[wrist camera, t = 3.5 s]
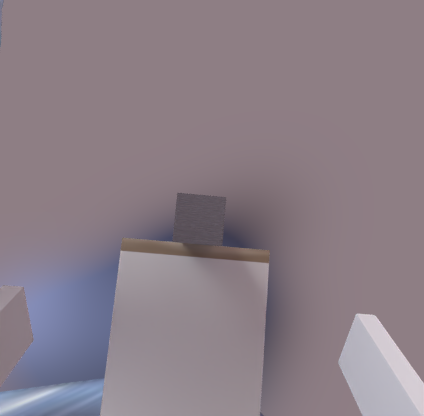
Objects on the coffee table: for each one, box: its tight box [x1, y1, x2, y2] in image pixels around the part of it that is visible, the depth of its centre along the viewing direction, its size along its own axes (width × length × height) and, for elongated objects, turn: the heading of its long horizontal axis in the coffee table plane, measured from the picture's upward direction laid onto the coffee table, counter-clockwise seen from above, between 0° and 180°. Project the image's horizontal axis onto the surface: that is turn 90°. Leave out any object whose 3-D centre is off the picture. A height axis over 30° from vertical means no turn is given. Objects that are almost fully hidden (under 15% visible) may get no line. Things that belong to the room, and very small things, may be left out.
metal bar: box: [173, 193, 226, 246], centre depth 30 cm, size 26×3×3 cm, turn 3°
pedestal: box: [100, 238, 270, 416], centre depth 33 cm, size 16×14×30 cm
